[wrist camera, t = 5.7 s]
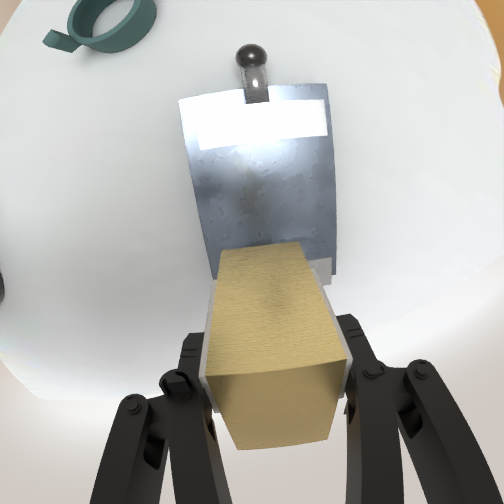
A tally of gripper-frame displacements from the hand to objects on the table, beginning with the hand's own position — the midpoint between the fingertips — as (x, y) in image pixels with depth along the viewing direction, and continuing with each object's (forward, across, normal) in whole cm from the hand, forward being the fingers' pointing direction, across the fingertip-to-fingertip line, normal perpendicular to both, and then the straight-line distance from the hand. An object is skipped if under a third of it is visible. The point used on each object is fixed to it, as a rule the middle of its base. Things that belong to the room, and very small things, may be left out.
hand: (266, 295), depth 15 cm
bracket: (+15, -12, +25) cm, 32 cm away
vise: (+16, +1, +2) cm, 16 cm away
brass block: (0, 0, 0) cm, 0 cm away
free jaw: (+13, +1, +12) cm, 18 cm away
